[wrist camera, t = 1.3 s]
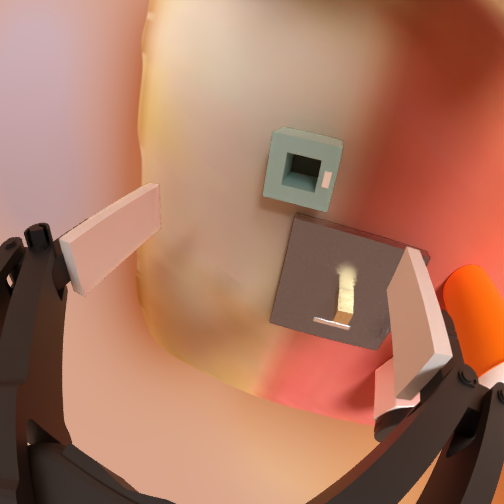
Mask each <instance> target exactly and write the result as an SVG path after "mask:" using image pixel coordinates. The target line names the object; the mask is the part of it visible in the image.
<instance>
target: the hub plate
mask: <svg viewBox="0 0 504 504" xmlns="http://www.w3.org/2000/svg"><path fill="white" fill-rule="evenodd" d="M406 247H410V248H413V249H417V250H420V253H421V255H422V258H423V260H424V263H425V265H426V266H427V264H428V262H429V260H430V256H429V254H428V252H427V251H425V250H422V249H419V248H415V247H412V246H409V245H406V244H403V243H400V242H397V241H394V240H390V239H387V238H384V237H381V236H377V235H374V234H371V233H367V232H364V231H360V230H357V229H354V228H350V227H347V226H343V225H340V224H336V223H332V222H329V221H325V220H322V219H318V218H314V217H310V216H307V215H303V214H299V213H296V215H295V218H294V222H293V227H292V231H291V236H290V240H289V244H288V249H287V253H286V257H285V262H284V266H283V270H282V274H281V278H280V282H279V287H278V291H277V295H276V299H275V303H274V307H273V311H272V315H271V319H270V323H272V324H276V325H279V326H283V327H286V328H290V329H293V330H297V331H300V332H304V333H308V334H311V335H315V336H319V337H323V338H326V339H330V340H334V341H338V342H342V343H346V344H350V345H355V346H359V347H363V348H367V349H372V350H376V351H377V350H378V348H379V347H380V345H381V344H382V342H383V341H384V339H385V338H386V336H387V335H388V333H389V331H390V330H391V323H390V313H389V305H388V297H387V288H388V286H389V284H390V282H391V280H392V278H393V276H394V274H395V271H396V269H397V267H398V265H399V263H400V260H401V258H402V256H403V254H404V251H405V249H406Z"/></svg>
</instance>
